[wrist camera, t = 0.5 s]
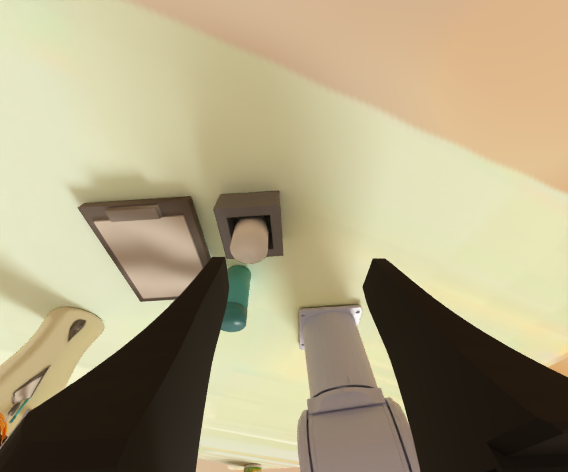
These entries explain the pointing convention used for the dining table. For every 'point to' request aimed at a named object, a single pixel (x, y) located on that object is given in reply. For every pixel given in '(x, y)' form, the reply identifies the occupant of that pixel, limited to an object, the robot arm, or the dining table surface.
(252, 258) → the button cap
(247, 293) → the marker
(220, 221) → the button box
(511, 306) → the dining table surface
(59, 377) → the beer glass
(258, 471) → the supplement bottle
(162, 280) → the grey flat tray
